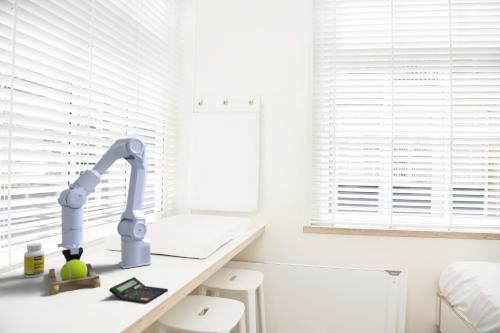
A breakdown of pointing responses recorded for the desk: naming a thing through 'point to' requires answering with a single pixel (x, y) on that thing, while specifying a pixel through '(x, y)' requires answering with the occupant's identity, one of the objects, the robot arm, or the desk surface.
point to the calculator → (136, 291)
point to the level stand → (73, 281)
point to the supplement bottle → (34, 260)
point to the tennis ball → (73, 270)
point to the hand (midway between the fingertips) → (72, 273)
